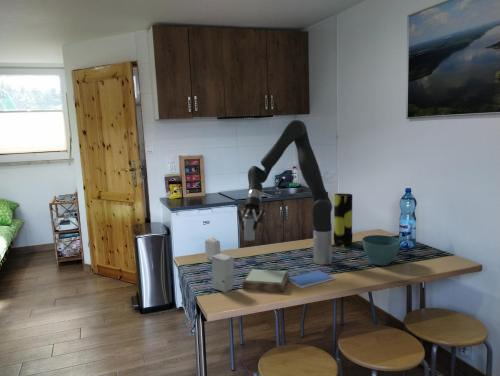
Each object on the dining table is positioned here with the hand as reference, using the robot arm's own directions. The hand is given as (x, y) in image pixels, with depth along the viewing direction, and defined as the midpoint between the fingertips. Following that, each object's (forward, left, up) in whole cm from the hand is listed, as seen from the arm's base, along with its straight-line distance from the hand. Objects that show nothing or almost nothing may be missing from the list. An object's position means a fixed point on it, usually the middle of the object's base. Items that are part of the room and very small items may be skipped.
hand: (248, 229), depth 198 cm
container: (-44, -53, -22) cm, 72 cm away
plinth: (-11, +14, -22) cm, 28 cm away
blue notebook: (-30, +5, -22) cm, 38 cm away
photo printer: (+24, -15, -22) cm, 36 cm away
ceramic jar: (0, -1, -5) cm, 5 cm away
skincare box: (+7, +22, -22) cm, 32 cm away
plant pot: (-63, -23, -22) cm, 70 cm away
